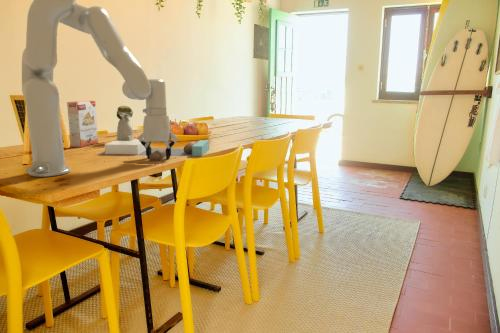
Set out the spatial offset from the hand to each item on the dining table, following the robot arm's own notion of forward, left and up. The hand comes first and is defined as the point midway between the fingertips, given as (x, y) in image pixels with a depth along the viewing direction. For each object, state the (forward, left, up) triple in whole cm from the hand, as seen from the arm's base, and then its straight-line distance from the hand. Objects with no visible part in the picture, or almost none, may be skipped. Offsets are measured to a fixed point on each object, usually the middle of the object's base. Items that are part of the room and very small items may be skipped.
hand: (158, 157), depth 152 cm
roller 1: (0, 0, -1) cm, 1 cm away
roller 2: (+14, -9, 0) cm, 17 cm away
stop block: (+14, -14, 0) cm, 20 cm away
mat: (+14, +6, -1) cm, 15 cm away
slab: (+12, +18, 0) cm, 22 cm away
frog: (+38, +28, -1) cm, 47 cm away
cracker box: (+31, +46, -1) cm, 55 cm away
